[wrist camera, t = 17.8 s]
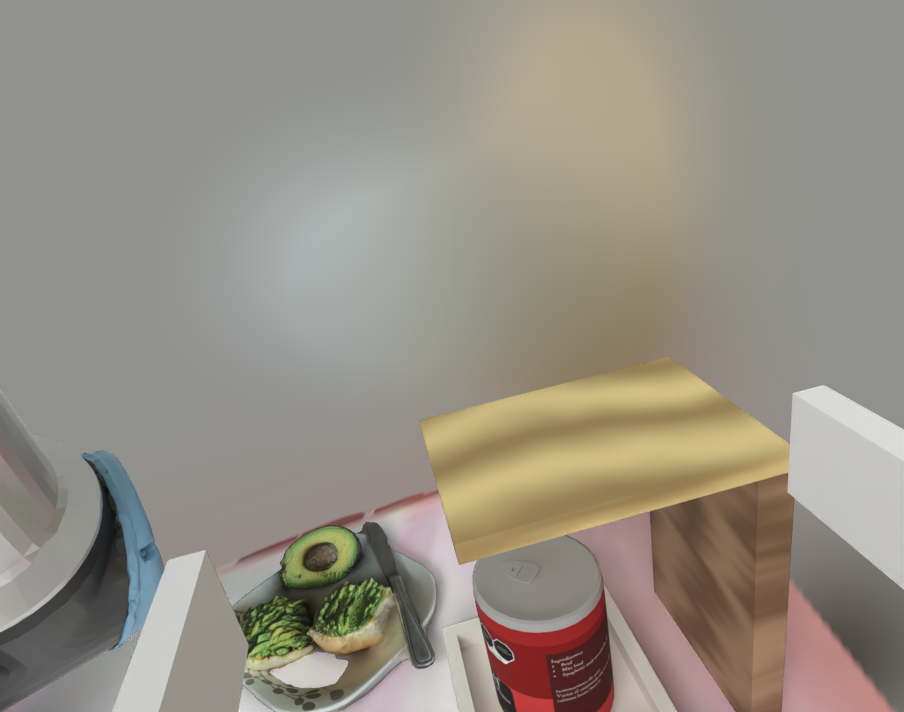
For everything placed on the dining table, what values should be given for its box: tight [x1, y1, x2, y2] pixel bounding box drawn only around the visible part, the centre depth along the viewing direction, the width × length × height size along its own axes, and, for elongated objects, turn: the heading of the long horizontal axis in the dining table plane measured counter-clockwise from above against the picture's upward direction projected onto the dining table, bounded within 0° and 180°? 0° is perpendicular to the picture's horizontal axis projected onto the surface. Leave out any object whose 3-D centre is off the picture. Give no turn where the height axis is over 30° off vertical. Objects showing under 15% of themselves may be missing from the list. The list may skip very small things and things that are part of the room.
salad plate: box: [232, 522, 436, 712], centre depth 49 cm, size 19×18×5 cm
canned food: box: [473, 535, 614, 712], centre depth 39 cm, size 8×8×11 cm
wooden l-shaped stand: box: [420, 357, 794, 712], centre depth 37 cm, size 12×17×20 cm
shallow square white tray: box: [442, 583, 677, 712], centre depth 41 cm, size 13×13×2 cm
